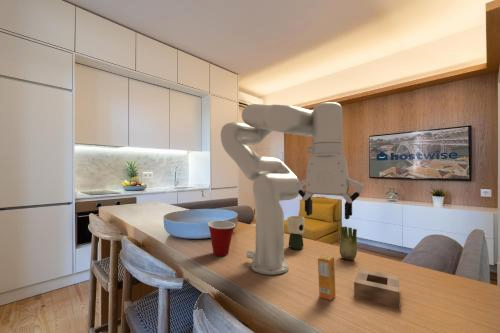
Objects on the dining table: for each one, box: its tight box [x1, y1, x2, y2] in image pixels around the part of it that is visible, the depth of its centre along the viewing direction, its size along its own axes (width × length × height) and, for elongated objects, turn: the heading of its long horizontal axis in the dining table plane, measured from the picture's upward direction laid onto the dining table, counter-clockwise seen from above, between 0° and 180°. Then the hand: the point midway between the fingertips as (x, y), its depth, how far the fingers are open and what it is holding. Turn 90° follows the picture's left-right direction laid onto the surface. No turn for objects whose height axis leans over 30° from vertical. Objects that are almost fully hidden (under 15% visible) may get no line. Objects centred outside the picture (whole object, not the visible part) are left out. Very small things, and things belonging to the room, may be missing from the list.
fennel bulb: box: [339, 226, 358, 261], centre depth 89 cm, size 6×5×12 cm
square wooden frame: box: [353, 268, 401, 309], centre depth 64 cm, size 10×10×4 cm
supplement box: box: [317, 255, 336, 301], centre depth 62 cm, size 3×3×10 cm
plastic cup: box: [207, 220, 236, 257], centre depth 93 cm, size 11×11×12 cm
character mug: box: [287, 215, 306, 250], centre depth 102 cm, size 11×7×13 cm, turn 150°
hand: (327, 216), depth 62 cm, fingers open, 9 cm apart
